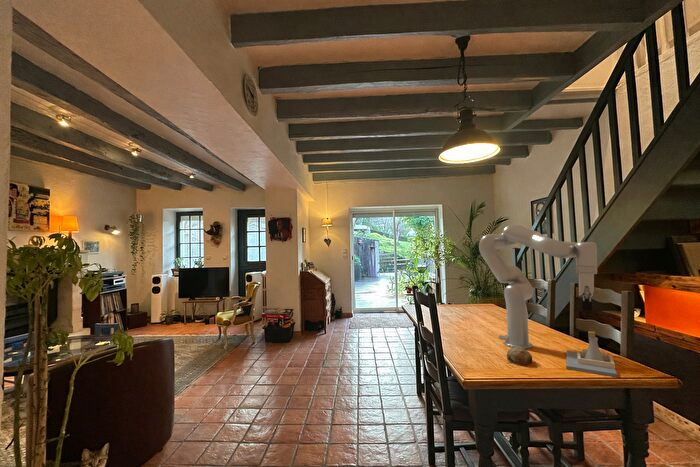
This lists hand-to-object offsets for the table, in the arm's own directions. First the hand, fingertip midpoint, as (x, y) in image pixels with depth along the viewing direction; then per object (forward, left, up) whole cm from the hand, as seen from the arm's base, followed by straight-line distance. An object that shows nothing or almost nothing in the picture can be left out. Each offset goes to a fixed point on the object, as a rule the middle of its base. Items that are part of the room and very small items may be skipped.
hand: (587, 309), depth 140 cm
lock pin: (+2, +9, -21) cm, 23 cm away
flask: (+1, -4, -22) cm, 22 cm away
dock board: (0, -4, -23) cm, 23 cm away
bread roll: (-25, -16, -23) cm, 38 cm away
